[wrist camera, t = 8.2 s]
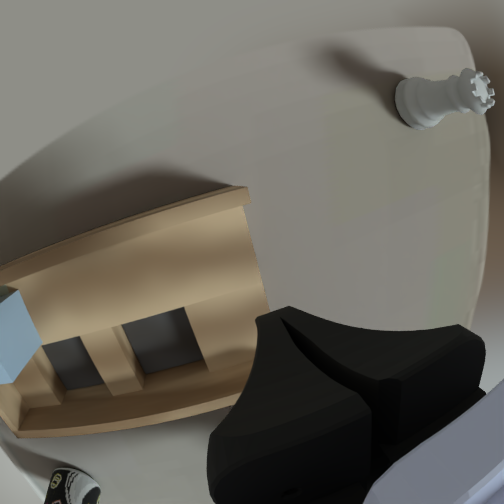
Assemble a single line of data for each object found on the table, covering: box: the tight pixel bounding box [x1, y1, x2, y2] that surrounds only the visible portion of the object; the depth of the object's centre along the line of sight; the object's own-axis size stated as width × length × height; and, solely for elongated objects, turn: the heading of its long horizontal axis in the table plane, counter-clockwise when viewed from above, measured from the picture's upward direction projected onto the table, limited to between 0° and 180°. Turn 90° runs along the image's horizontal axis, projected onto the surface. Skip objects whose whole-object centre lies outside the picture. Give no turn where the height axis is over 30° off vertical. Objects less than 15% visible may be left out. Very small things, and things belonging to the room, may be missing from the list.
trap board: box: [0, 186, 270, 438], centre depth 17 cm, size 12×22×5 cm, turn 104°
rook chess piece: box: [395, 68, 495, 130], centre depth 17 cm, size 4×4×8 cm
